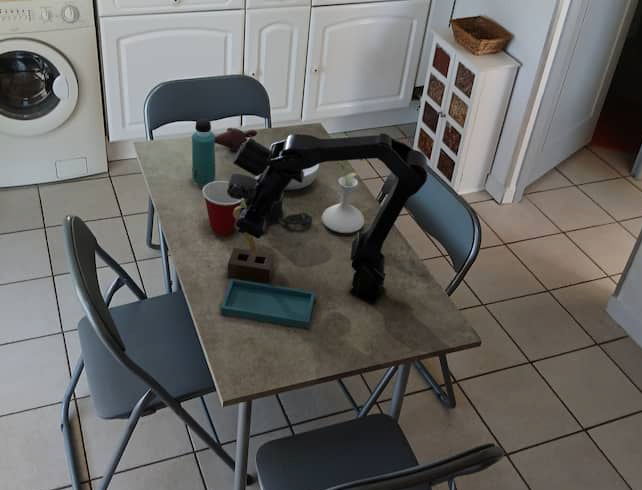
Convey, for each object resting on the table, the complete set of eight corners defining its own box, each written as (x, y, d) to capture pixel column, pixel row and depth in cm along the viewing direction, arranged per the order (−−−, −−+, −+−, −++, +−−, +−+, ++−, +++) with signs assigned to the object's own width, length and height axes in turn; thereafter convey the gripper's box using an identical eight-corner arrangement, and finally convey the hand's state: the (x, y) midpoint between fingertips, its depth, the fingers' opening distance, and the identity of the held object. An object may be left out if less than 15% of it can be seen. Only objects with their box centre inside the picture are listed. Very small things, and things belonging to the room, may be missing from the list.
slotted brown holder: (273, 268, 182) (274, 254, 180) (269, 284, 177) (270, 269, 175) (233, 261, 183) (233, 247, 180) (227, 277, 178) (227, 263, 175)
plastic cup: (251, 234, 192) (253, 197, 185) (213, 246, 187) (213, 207, 180) (232, 212, 199) (233, 175, 192) (195, 222, 194) (195, 184, 187)
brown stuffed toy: (213, 140, 216) (261, 138, 222) (207, 123, 220) (254, 120, 226) (209, 157, 221) (256, 154, 227) (203, 139, 225) (250, 137, 231)
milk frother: (245, 205, 202) (247, 159, 194) (301, 200, 207) (305, 155, 198) (256, 237, 191) (259, 190, 183) (315, 231, 196) (320, 185, 187)
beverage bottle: (220, 182, 210) (221, 120, 198) (205, 193, 205) (205, 130, 194) (202, 174, 213) (201, 112, 201) (186, 184, 208) (185, 122, 196)
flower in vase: (369, 234, 197) (383, 154, 182) (328, 239, 193) (339, 158, 179) (353, 206, 207) (364, 127, 192) (314, 210, 203) (322, 131, 189)
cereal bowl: (299, 161, 223) (300, 140, 219) (328, 189, 212) (330, 169, 208) (248, 173, 215) (249, 152, 211) (276, 204, 204) (277, 183, 200)
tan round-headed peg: (262, 252, 175) (246, 204, 168) (261, 256, 174) (245, 208, 167) (249, 253, 176) (232, 206, 169) (247, 258, 175) (230, 210, 168)
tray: (314, 298, 175) (315, 292, 173) (308, 328, 166) (309, 322, 165) (230, 285, 176) (231, 278, 175) (220, 314, 168) (220, 307, 167)
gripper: (250, 144, 169) (220, 190, 178) (231, 187, 154) (199, 236, 162) (292, 168, 171) (260, 213, 180) (277, 214, 156) (243, 261, 164)
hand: (240, 229), depth 171 cm, fingers closed on tan round-headed peg, 1 cm apart
